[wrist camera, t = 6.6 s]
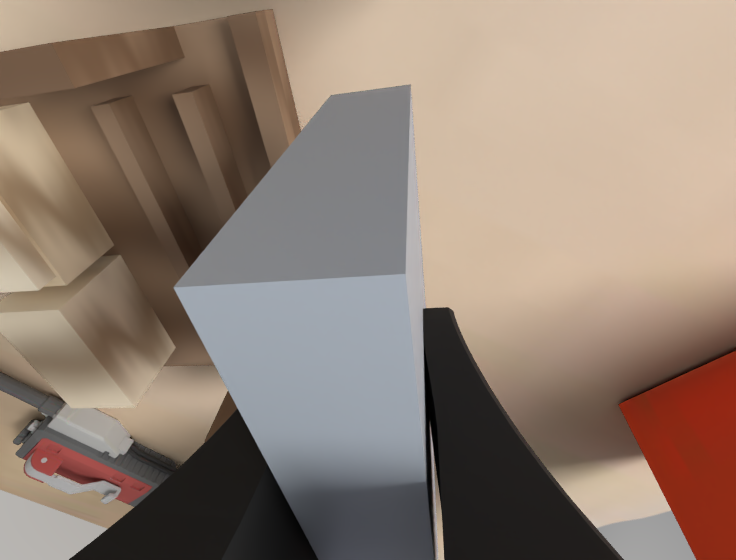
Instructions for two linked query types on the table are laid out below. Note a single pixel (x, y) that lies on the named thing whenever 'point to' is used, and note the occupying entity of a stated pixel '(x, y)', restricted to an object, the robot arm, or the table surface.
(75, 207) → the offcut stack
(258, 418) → the grey rectangular slab
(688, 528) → the file binder
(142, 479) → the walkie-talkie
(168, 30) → the walnut rack
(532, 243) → the table surface
